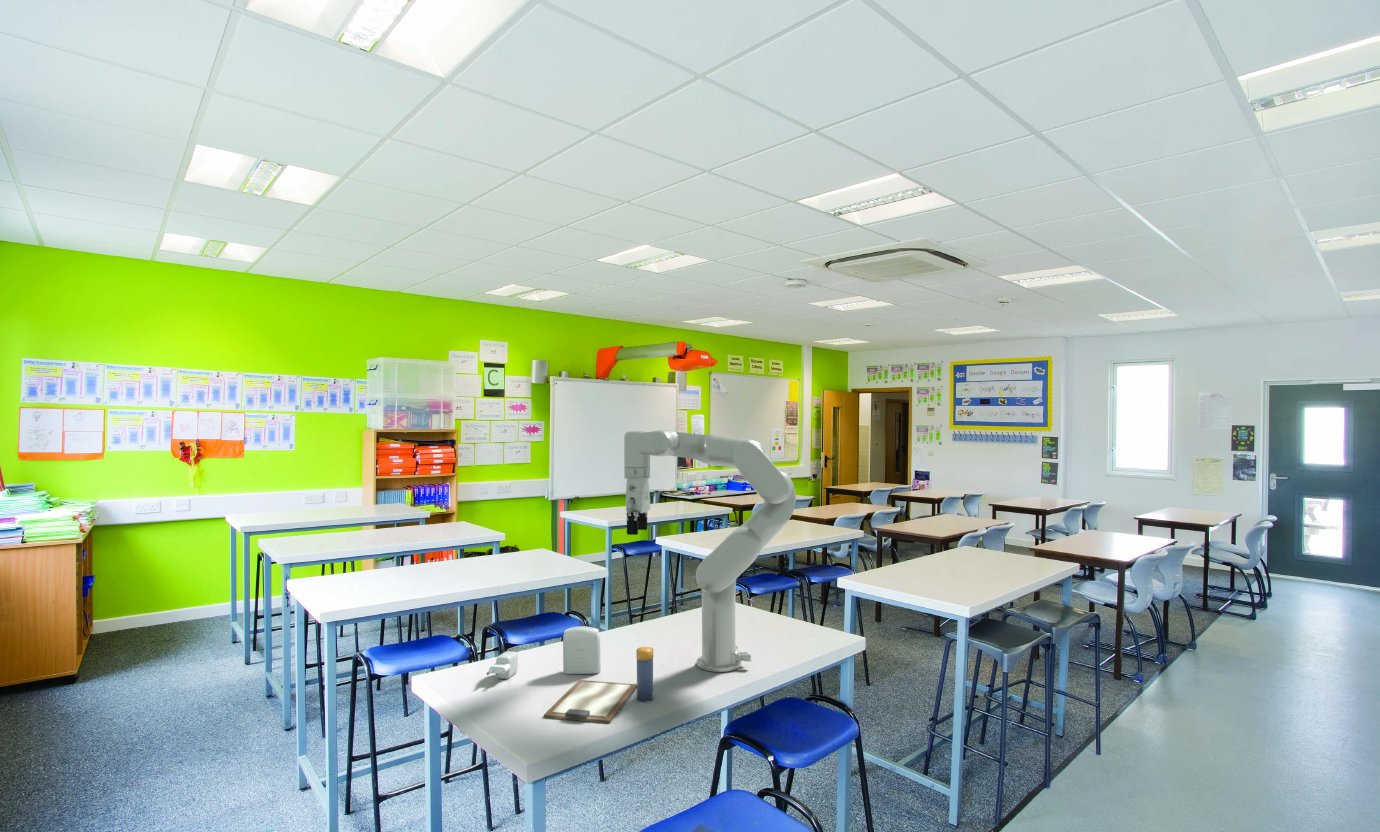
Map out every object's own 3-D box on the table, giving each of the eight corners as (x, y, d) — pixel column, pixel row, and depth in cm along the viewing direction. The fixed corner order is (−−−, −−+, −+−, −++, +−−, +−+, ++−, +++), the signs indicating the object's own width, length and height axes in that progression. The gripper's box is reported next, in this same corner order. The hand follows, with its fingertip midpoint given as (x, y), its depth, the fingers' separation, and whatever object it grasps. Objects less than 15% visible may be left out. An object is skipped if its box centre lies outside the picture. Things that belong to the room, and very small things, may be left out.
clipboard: (637, 686, 169) (637, 680, 169) (609, 723, 147) (609, 716, 147) (579, 681, 172) (579, 675, 172) (542, 718, 150) (542, 710, 150)
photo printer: (561, 675, 177) (561, 629, 178) (564, 669, 182) (564, 624, 182) (599, 675, 177) (599, 629, 178) (601, 669, 182) (601, 624, 182)
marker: (655, 695, 163) (655, 647, 163) (650, 702, 159) (650, 652, 159) (639, 694, 164) (639, 646, 164) (634, 701, 160) (634, 651, 160)
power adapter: (500, 687, 169) (500, 664, 169) (483, 686, 170) (483, 663, 170) (520, 672, 180) (520, 650, 180) (503, 671, 181) (503, 649, 181)
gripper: (641, 475, 182) (641, 536, 182) (657, 471, 199) (657, 528, 198) (615, 475, 184) (615, 536, 183) (633, 471, 201) (633, 527, 200)
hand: (637, 531), depth 191 cm, fingers open, 9 cm apart
